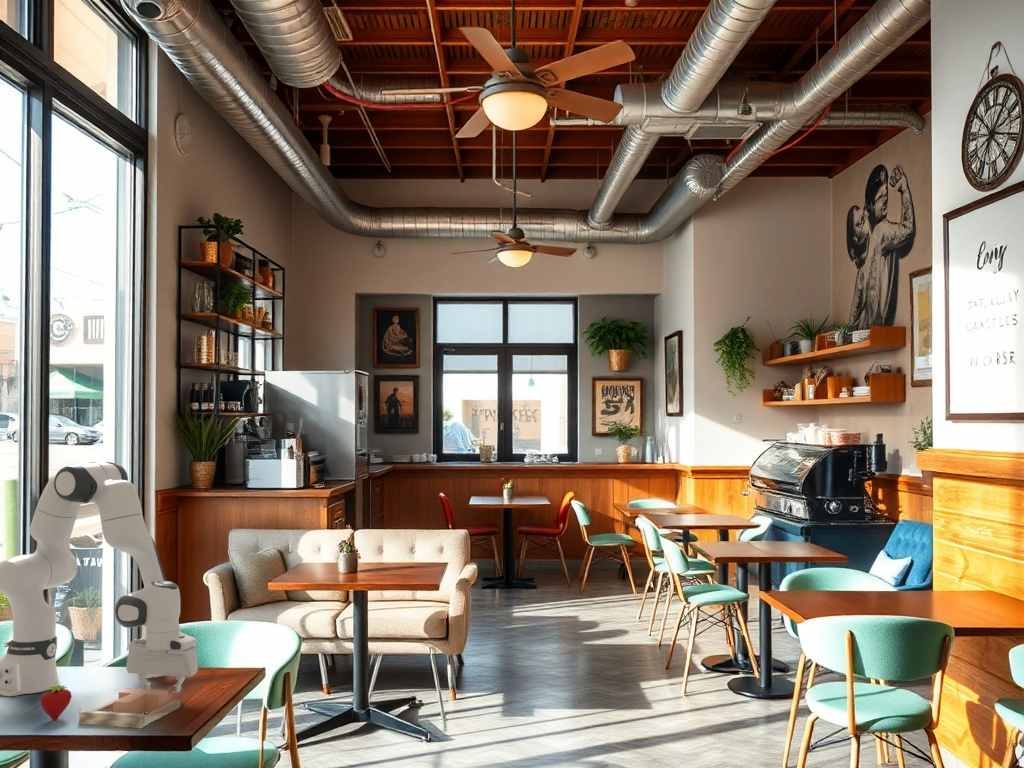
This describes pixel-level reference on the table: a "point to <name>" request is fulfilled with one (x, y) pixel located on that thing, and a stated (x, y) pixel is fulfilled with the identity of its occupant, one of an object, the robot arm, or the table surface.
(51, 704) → the strawberry
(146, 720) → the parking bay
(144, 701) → the T block
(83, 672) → the table surface
